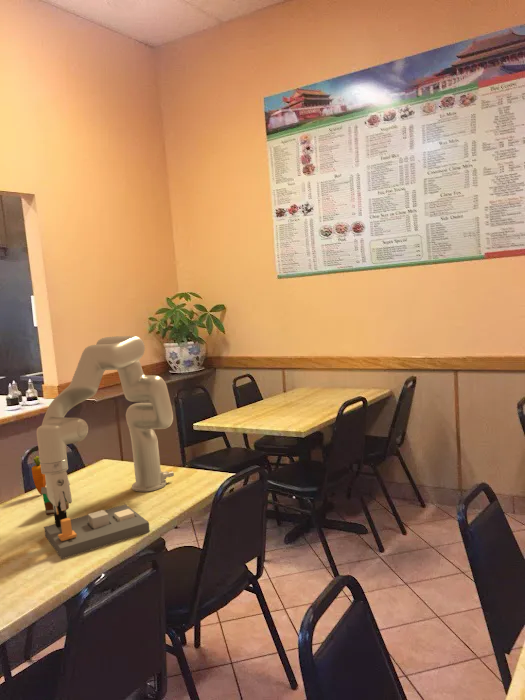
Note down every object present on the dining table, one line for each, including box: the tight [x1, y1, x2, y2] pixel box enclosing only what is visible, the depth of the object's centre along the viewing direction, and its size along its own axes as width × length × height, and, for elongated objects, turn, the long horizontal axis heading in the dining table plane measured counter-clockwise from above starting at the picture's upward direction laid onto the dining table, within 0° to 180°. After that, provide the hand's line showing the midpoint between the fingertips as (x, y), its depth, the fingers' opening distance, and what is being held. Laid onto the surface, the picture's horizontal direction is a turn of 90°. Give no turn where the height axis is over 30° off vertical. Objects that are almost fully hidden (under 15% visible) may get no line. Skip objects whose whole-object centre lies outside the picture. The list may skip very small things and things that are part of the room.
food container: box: [40, 479, 71, 516], centre depth 202 cm, size 12×6×10 cm, turn 168°
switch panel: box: [43, 504, 150, 560], centre depth 179 cm, size 26×20×3 cm
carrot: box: [31, 455, 46, 496], centre depth 219 cm, size 5×5×15 cm
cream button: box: [114, 509, 135, 522], centre depth 183 cm, size 5×5×4 cm
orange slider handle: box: [58, 517, 77, 541], centre depth 170 cm, size 4×4×5 cm
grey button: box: [87, 509, 109, 529], centre depth 179 cm, size 5×5×4 cm
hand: (61, 525), depth 175 cm, fingers closed
